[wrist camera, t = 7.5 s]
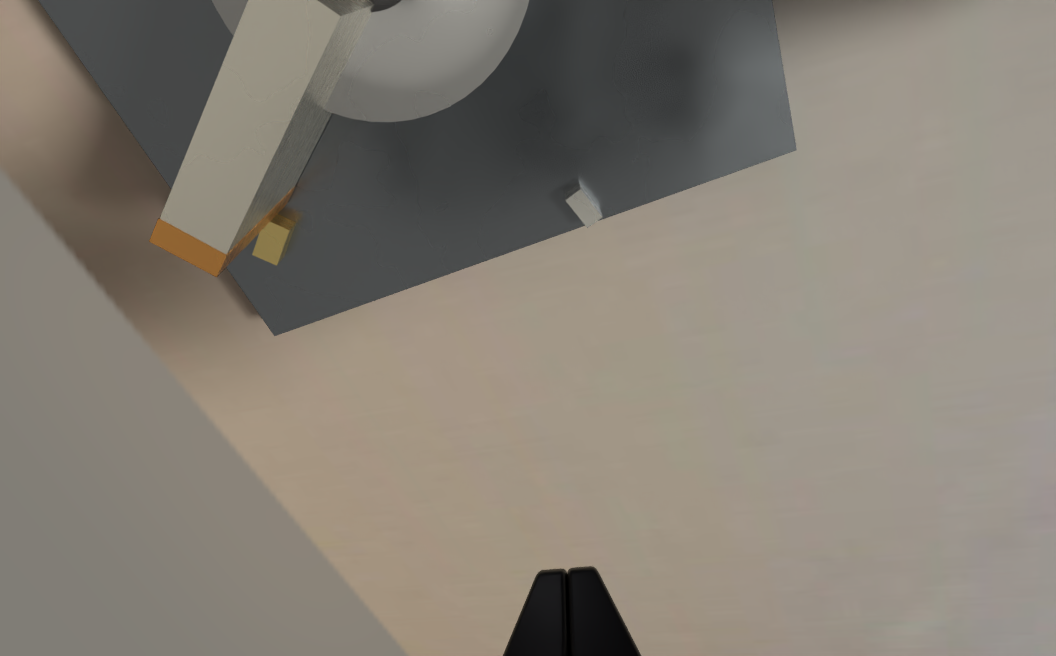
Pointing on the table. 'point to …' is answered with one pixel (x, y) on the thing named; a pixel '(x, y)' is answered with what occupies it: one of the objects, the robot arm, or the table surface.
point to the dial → (315, 100)
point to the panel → (465, 137)
